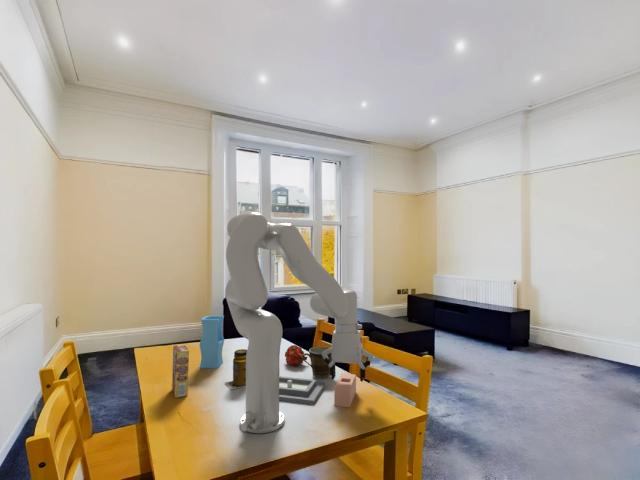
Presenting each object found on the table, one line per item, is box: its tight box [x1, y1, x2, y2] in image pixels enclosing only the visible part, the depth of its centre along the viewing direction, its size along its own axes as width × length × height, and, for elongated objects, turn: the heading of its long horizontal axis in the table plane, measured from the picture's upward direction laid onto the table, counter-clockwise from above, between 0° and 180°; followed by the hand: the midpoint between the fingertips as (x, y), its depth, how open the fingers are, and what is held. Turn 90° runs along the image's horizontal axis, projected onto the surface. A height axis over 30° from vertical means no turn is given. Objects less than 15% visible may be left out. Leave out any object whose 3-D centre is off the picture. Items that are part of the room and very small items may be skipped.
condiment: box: [224, 348, 248, 391], centre depth 130 cm, size 7×8×12 cm
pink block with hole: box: [333, 372, 357, 408], centre depth 117 cm, size 12×5×6 cm, turn 165°
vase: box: [199, 315, 225, 369], centre depth 151 cm, size 8×8×20 cm
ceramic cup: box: [302, 346, 332, 380], centre depth 138 cm, size 13×10×10 cm
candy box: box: [171, 344, 190, 399], centre depth 122 cm, size 9×4×15 cm, turn 29°
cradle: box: [279, 375, 327, 405], centre depth 124 cm, size 16×22×4 cm
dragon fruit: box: [284, 344, 308, 368], centre depth 151 cm, size 8×8×12 cm
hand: (347, 378), depth 118 cm, fingers open, 9 cm apart
